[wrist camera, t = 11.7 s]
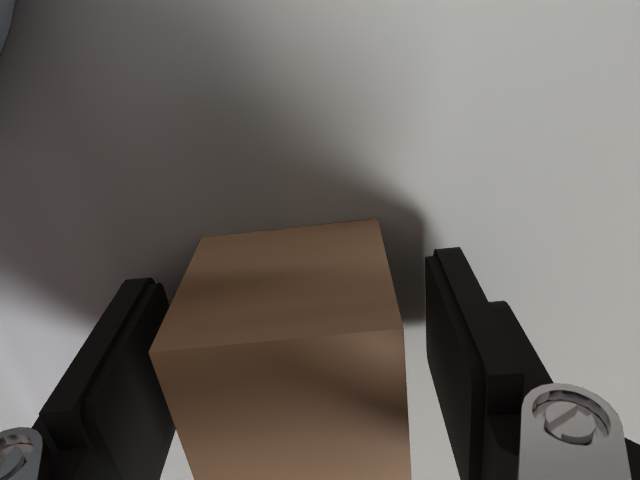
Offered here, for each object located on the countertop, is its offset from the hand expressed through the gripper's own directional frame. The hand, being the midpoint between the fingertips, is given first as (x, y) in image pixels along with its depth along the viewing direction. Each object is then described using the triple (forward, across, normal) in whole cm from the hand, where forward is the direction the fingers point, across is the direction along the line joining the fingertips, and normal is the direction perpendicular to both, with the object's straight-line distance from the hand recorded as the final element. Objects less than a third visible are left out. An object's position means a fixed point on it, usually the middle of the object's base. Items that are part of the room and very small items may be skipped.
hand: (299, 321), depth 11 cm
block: (+1, 0, 0) cm, 1 cm away
